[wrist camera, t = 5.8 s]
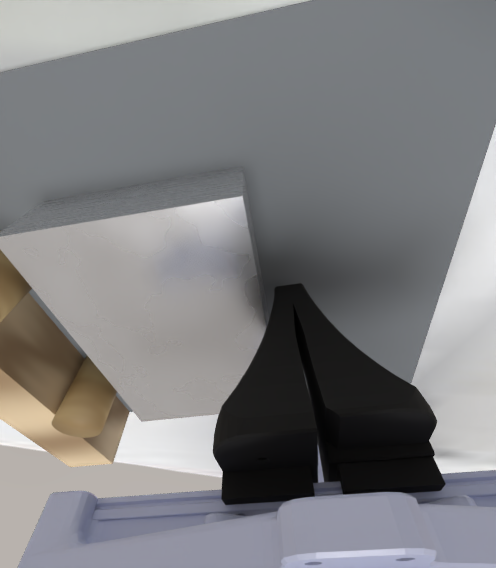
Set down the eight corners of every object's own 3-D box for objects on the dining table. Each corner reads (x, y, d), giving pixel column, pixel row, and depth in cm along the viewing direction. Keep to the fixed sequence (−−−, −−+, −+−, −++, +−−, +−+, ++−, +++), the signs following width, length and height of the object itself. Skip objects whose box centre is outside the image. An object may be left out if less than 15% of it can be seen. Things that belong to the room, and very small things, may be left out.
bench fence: (159, 408, 21) (145, 469, 18) (92, 415, 22) (66, 475, 19) (-67, 88, 9) (-234, 102, 6) (-209, 121, 9) (-434, 151, 6)
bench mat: (407, 376, 20) (411, 383, 19) (64, 412, 22) (60, 418, 22) (538, -50, 8) (554, -56, 7) (-253, 132, 10) (-273, 135, 10)
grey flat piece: (276, 362, 18) (281, 408, 16) (154, 375, 19) (141, 421, 16) (242, 165, 11) (242, 195, 8) (44, 200, 11) (-9, 238, 9)
